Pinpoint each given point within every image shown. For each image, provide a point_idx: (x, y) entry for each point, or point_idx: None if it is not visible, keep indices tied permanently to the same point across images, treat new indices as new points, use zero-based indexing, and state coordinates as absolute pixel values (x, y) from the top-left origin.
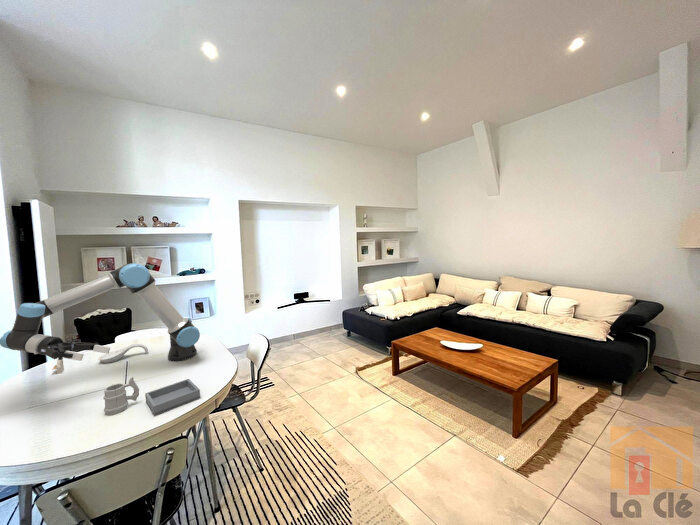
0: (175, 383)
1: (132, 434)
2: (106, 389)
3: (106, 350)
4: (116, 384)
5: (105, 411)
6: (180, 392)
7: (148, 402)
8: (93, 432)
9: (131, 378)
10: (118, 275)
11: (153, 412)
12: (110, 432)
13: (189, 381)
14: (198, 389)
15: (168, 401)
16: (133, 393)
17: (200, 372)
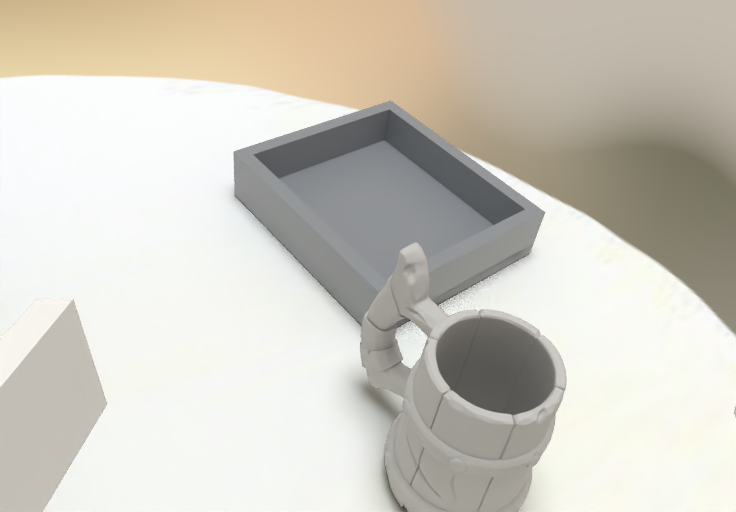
0: (281, 191)
1: (669, 282)
2: (520, 415)
3: (76, 382)
4: (439, 375)
5: (526, 494)
6: (324, 200)
7: (447, 281)
8: (694, 467)
9: (424, 255)
10: None
11: (529, 243)
12: (675, 377)
13: (278, 142)
14: (390, 103)
15: (492, 176)
16: (395, 347)
17: (24, 183)
